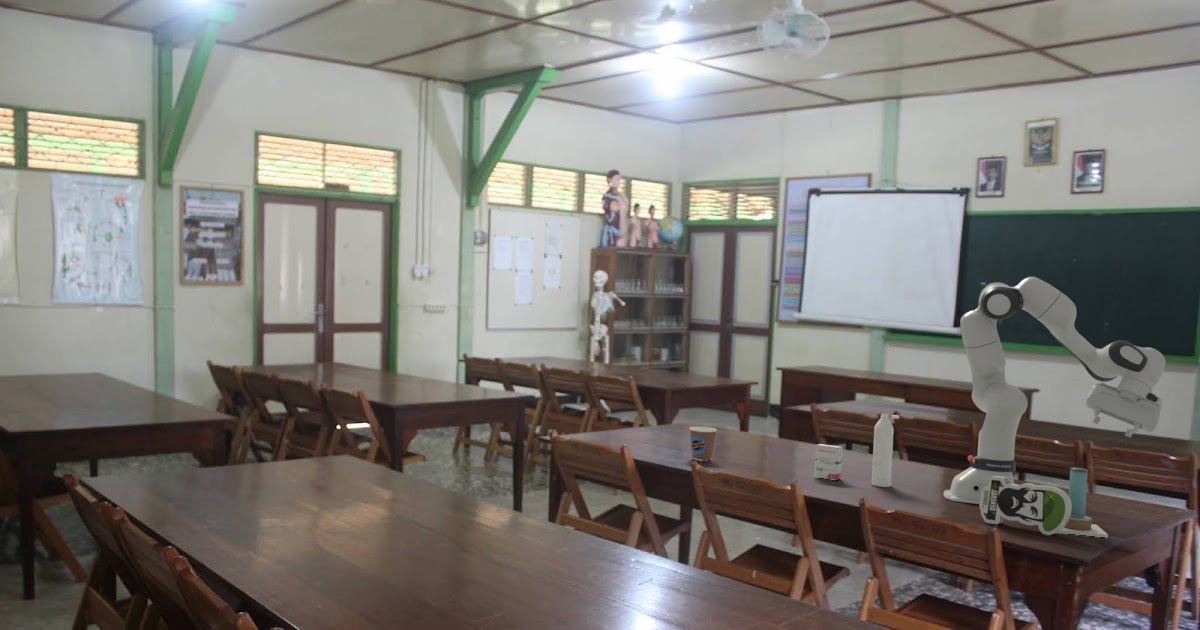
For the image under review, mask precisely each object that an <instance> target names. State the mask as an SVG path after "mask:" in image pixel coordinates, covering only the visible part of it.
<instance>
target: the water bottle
mask: <svg viewBox="0 0 1200 630" xmlns="http://www.w3.org/2000/svg"><path fill="white" fill-rule="evenodd" d="M880 415H881V416H880V419H879V420H878V421H877V422H876V424H875V425H874V429H873V430H874V431H873V448H872V449H873V450H872V466H871V467H872V468H871V469H872V472H871V485H872V486H873V485H874V487H877V486H878V488H881V487H882V488H890V487H891V486H892V471H893V470H892V469H893V467H892V466H893V451H894V450H893V447H894V435H895V434H894V431H895V430H894V425H893V424H892V422H891V421H890V419H889V414H887V413H881V414H880ZM891 419H895V420H899V419H900V415H896V414H895V415H894V414H892V415H891Z"/></svg>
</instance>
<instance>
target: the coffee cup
mask: <svg viewBox="0 0 1200 630" xmlns="http://www.w3.org/2000/svg"><path fill="white" fill-rule="evenodd" d="M689 430H690V447H691V457H692V459H693V458H697V459H702V460H710V459H711V460H712V457H713V450H714V443H715V439H716V432H717V429H716V428H713V427H707V426H693V427H692V426H691V427H689Z"/></svg>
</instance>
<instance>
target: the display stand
mask: <svg viewBox="0 0 1200 630" xmlns="http://www.w3.org/2000/svg"><path fill="white" fill-rule="evenodd" d="M1092 521H1093V520H1092V517H1089V516H1087V515H1085V518H1084V519H1077V518H1071V517H1070V519H1069V521H1068V523H1067V524H1066V525H1065V527H1064V528H1063V529H1061V530H1060V531H1058V532H1057V533H1058V534H1059V535H1068V534H1075V535H1074V536H1079V535H1086V536H1085V537H1089V536H1095V537H1094V538H1100V537H1105V538H1104V539H1108V538H1109V534H1108V533H1107V532H1105V530H1103V529H1102V527H1100V526H1099V525H1097V524H1093V523H1092ZM1057 533H1056V534H1057Z"/></svg>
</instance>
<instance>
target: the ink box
mask: <svg viewBox="0 0 1200 630" xmlns="http://www.w3.org/2000/svg"><path fill="white" fill-rule="evenodd" d="M814 454H815V457H814V471H813V477H814V476H816V477H822V478H828V479H835V480H838V479H840V478H841V479H842V465H843V446H838V445H830V444H823V443H819V444H818V443H817V444H816V445H815V453H814ZM841 479H840V480H841ZM838 481H839V480H838Z"/></svg>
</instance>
